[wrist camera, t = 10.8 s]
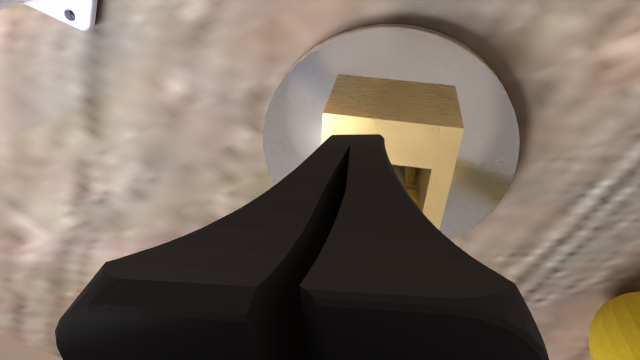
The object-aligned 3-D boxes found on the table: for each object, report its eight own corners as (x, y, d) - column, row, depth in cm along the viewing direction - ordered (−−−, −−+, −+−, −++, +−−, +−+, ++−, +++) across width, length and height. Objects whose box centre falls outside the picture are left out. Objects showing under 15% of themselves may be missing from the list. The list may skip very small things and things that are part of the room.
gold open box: (330, 202, 23) (316, 254, 20) (338, 73, 19) (322, 113, 16) (426, 215, 23) (429, 271, 19) (455, 85, 19) (464, 128, 15)
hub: (239, 184, 25) (213, 229, 22) (323, -28, 18) (304, -8, 15) (428, 269, 26) (430, 324, 23) (575, 99, 19) (608, 144, 16)
